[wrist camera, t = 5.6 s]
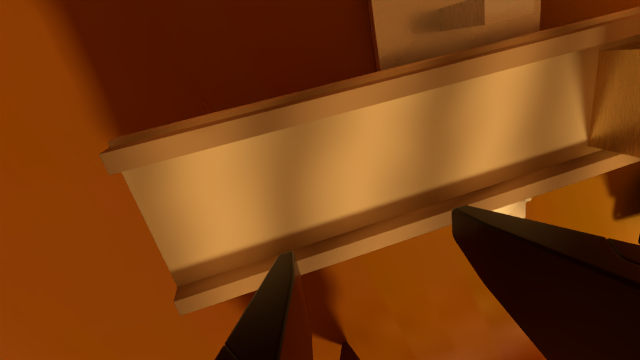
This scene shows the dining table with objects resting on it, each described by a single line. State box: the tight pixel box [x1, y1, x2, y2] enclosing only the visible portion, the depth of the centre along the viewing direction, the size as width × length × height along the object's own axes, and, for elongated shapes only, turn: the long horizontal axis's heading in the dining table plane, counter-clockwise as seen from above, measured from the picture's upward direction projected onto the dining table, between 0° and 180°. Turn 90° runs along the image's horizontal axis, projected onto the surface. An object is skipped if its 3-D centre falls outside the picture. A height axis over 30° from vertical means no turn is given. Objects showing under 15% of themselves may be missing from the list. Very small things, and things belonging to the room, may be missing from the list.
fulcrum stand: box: [367, 0, 541, 218], centre depth 19 cm, size 10×16×5 cm, turn 12°
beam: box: [99, 6, 640, 316], centre depth 15 cm, size 28×8×2 cm, turn 102°
